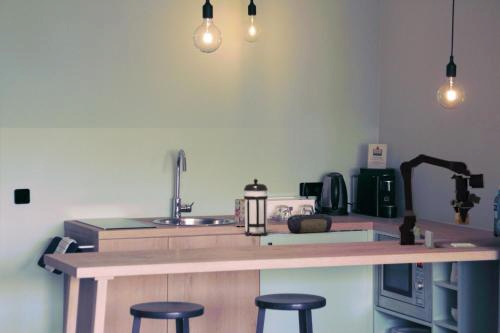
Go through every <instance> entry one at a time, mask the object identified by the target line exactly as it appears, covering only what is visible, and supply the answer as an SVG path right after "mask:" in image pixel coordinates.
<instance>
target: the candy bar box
mask: <svg viewBox="0 0 500 333" xmlns="http://www.w3.org/2000/svg"><path fill="white" fill-rule="evenodd" d="M235 222H238V223H242V222H245V199H244V198H235V199H234V223H235Z"/></svg>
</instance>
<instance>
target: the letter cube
mask: <svg viewBox="0 0 500 333" xmlns="http://www.w3.org/2000/svg"><path fill="white" fill-rule="evenodd" d="M454 216H455V225H458V226H459V225H462V226H463V225H465V226H466V225H468V226H469V225H470V214H469V212H468V213H467V217H466V221H465V222H462V219H461V216H460V214H459V213H454Z"/></svg>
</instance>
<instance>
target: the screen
mask: <svg viewBox="0 0 500 333" xmlns="http://www.w3.org/2000/svg"><path fill="white" fill-rule="evenodd" d="M434 236H435V235H434V232H432V231H430V230H424V243H423V246H424V245H426V247H428V249H436V246H435V245H434V240H435V238H434Z"/></svg>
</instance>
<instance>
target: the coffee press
mask: <svg viewBox="0 0 500 333" xmlns="http://www.w3.org/2000/svg"><path fill="white" fill-rule="evenodd" d="M243 191H244V195H243V199H245V227H244V234H245V236H246V237H250V236H251V235H252V234H259V235H260V234H262V235H263V236H264V237H267V236H268V235H269V234H268V232H267V231H268V191H269V190H268V187H267V185H266V184H264V183H258V179H257V178H254V179H253V183H248V184H246V185H245V186H244V188H243Z"/></svg>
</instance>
